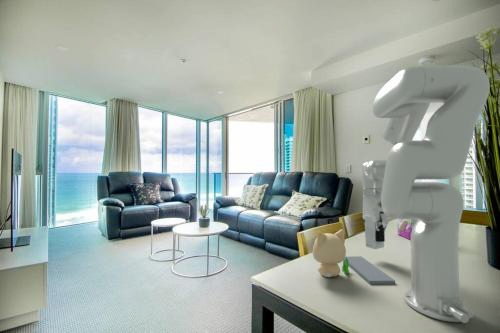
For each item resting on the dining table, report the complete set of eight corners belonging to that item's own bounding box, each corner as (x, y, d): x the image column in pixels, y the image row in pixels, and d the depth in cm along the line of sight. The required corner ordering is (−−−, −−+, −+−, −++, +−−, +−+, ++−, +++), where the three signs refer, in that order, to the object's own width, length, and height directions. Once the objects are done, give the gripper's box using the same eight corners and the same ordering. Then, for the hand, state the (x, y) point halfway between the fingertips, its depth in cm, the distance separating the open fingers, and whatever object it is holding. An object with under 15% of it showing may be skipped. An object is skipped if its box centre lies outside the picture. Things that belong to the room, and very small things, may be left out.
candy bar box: (397, 234, 124) (396, 204, 125) (406, 234, 124) (405, 204, 125) (411, 241, 113) (410, 208, 114) (421, 241, 113) (420, 208, 114)
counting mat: (395, 283, 70) (395, 280, 70) (369, 284, 69) (369, 280, 69) (361, 258, 90) (361, 256, 90) (341, 259, 89) (341, 256, 89)
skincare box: (376, 249, 85) (375, 217, 86) (364, 246, 89) (364, 215, 90) (384, 247, 89) (383, 215, 89) (373, 244, 92) (372, 214, 93)
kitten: (338, 265, 83) (338, 224, 84) (359, 277, 74) (359, 231, 74) (302, 271, 78) (302, 227, 79) (320, 284, 69) (320, 235, 69)
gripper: (397, 194, 82) (399, 245, 81) (370, 192, 99) (371, 233, 98) (376, 194, 81) (378, 245, 80) (353, 192, 99) (354, 233, 98)
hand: (374, 238), depth 89 cm, fingers closed on skincare box, 6 cm apart
